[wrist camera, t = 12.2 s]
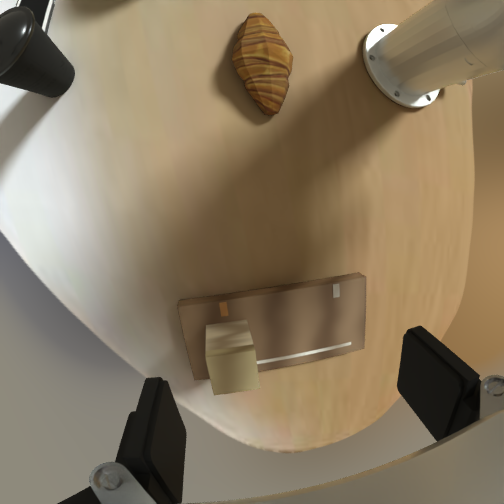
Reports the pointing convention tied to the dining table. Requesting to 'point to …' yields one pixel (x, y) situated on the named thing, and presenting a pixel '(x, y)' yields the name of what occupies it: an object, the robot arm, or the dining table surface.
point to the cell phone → (39, 11)
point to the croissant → (263, 62)
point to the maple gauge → (231, 357)
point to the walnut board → (283, 321)
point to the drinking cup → (31, 56)
